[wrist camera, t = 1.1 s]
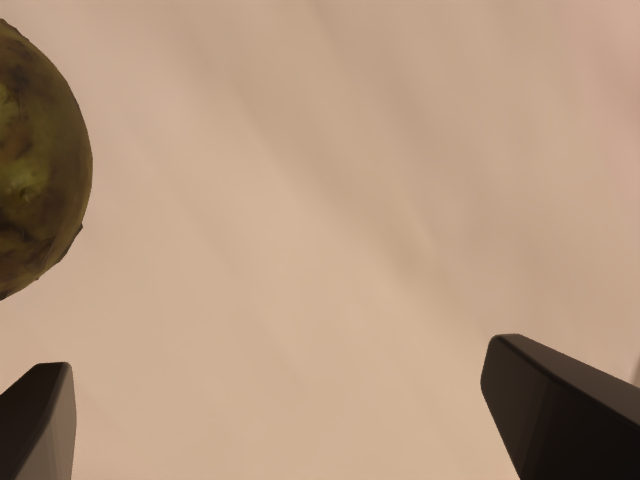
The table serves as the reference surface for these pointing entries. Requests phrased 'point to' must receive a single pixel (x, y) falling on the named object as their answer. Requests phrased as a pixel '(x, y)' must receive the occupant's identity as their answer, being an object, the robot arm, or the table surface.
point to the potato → (38, 163)
